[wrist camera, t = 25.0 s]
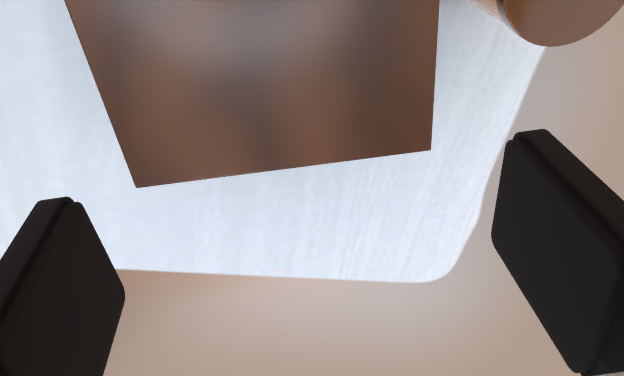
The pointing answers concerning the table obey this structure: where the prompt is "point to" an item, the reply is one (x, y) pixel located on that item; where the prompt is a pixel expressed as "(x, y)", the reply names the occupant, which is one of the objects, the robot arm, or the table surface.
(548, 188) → the robot arm
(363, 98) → the chest lid
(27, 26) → the table surface
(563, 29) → the honey pot
